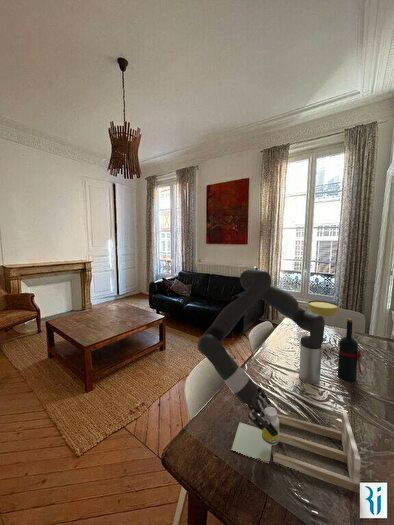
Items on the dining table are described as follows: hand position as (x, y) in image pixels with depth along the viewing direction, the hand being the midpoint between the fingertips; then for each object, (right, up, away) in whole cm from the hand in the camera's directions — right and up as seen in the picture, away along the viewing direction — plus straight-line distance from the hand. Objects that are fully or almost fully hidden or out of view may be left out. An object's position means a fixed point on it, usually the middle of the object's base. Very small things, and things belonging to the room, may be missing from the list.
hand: (276, 427), depth 73 cm
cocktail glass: (+59, 0, +80) cm, 99 cm away
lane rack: (+12, -8, +1) cm, 14 cm away
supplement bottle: (-2, -5, +1) cm, 5 cm away
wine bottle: (+49, -4, +37) cm, 62 cm away
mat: (-7, -8, +4) cm, 11 cm away
